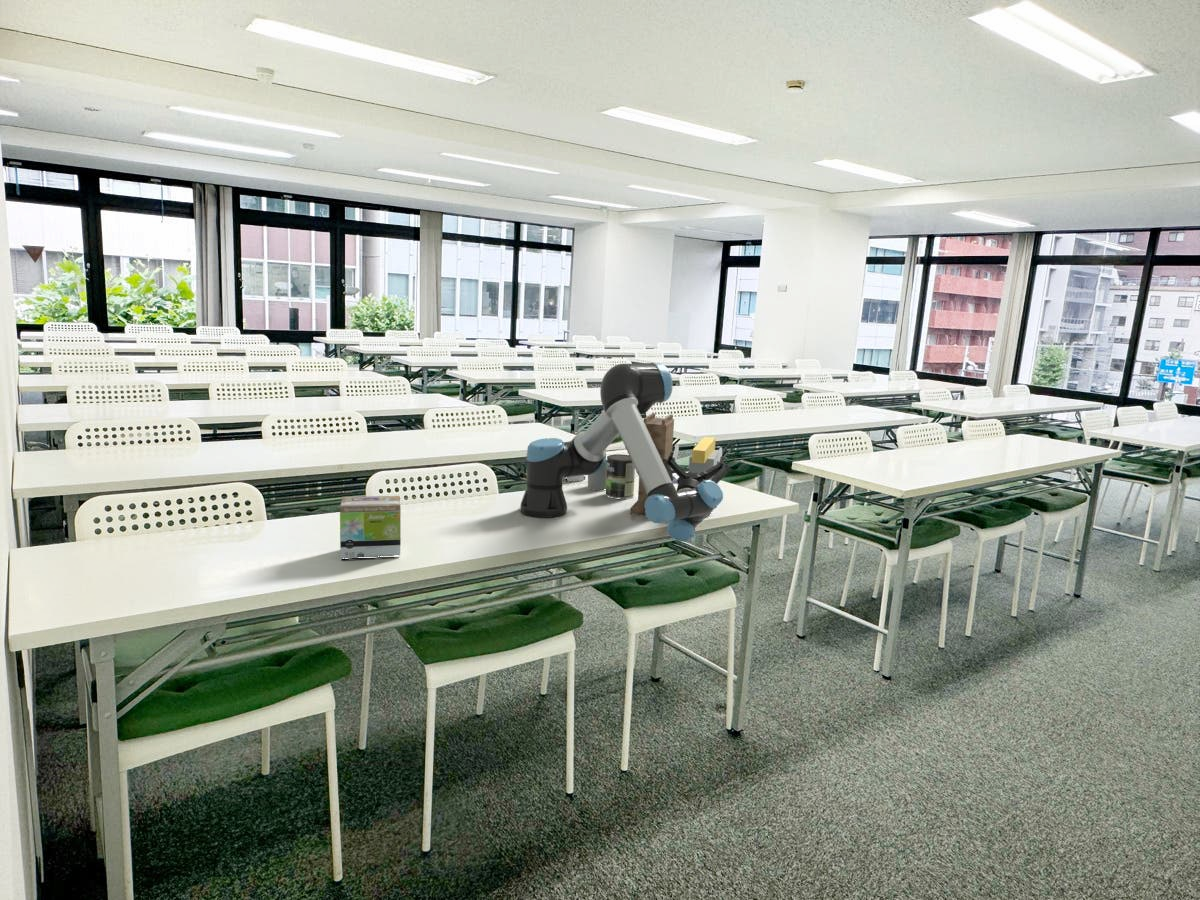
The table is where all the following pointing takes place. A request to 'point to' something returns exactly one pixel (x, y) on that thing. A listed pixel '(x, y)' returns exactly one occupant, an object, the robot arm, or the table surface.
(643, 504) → the stand
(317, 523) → the table surface
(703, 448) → the block
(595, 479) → the cup
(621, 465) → the coffee can
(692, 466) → the grey slab
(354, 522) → the tea box
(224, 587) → the table surface
